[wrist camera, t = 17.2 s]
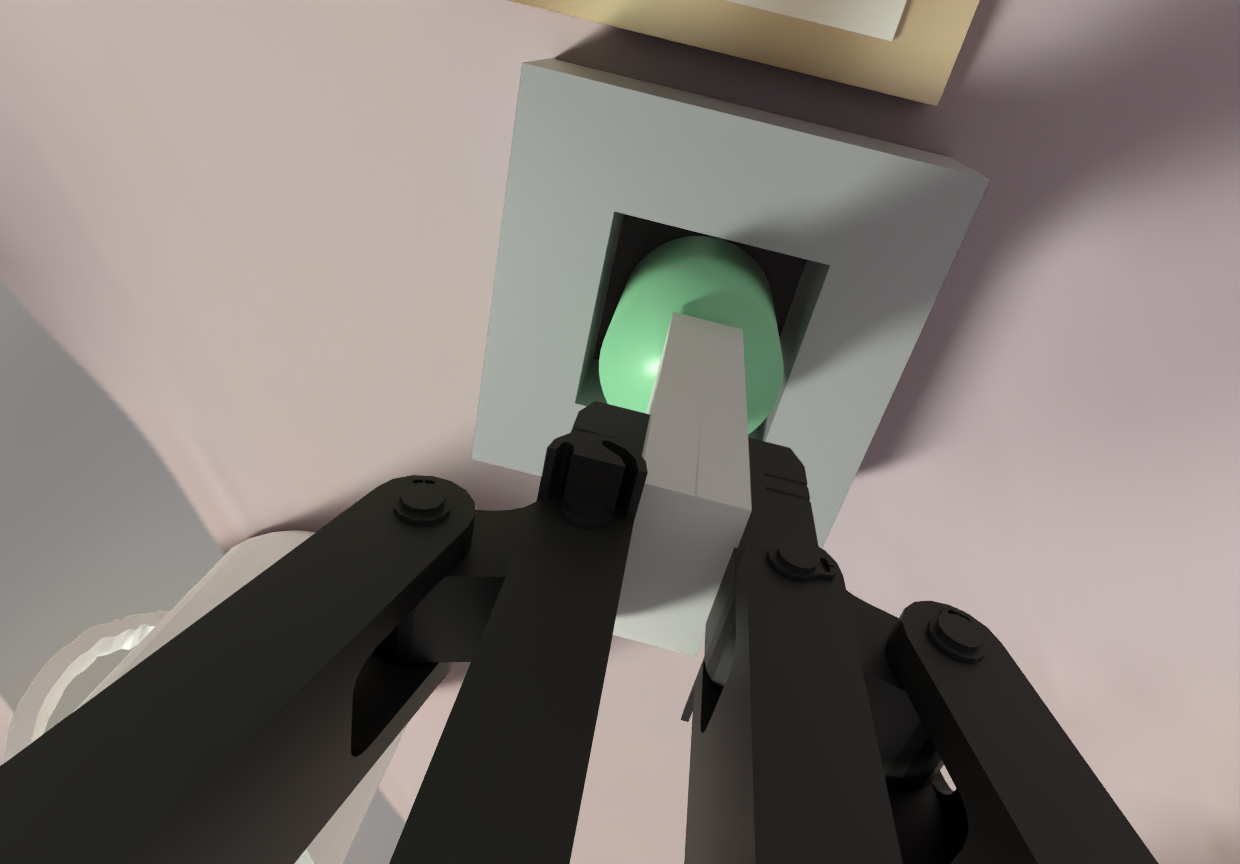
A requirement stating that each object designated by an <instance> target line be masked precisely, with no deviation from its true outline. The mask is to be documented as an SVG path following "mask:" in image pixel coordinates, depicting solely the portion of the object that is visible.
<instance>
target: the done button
mask: <svg viewBox="0 0 1240 864" xmlns="http://www.w3.org/2000/svg"><path fill="white" fill-rule="evenodd" d="M673 312H676V313H680V314H684V315H688V316H692V317H696V318H700V319H704V320H708V321H712V322H716V323H720V324H724V325H728V326H732V327H736V328H740V329H743V342H744V363H745V383H746V404H747V424H748V435H749V434H750V433H751V432H753V431H754V430H755V429H756V428H757V427H758V426H759V425H760V424H761V423H762V422H763V421H764V420H765V419H766V417H767V416H768V415H769V413H770V412H771V410H772V408H773V407H774V405H775V403H776V401H777V398H778V396H779V393H780V390H781V386H782V380H783V358H782V351H781V345H780V339H779V334H778V328H777V322H776V316H775V310H774V304H773V298H772V292H771V289H770V286H769V283H768V280H767V278H766V276H765V274H764V272H763V271H762V269H761V268H760V266H759V265H758V264H757V263H756V262H755V260H754V259H753V258H752V257H751V256H750V255H748V254H747V253H746V252H745V251H744V250H742V249H740V248H739V247H737V246H736V245H734V244H732V243H729V242H727V241H724V240H721V239H718V238H714V237H708V236H688V237H682V238H678V239H674V240H672V241H669V242H666V243H664V244H662V245H660V246H658V247H657V248H655V249H654V250H652V251H651V252H649V253H648V254H647V255H646V256H645V257H644V258H643V259H642V260H641V261H640V262H639V263H638V265H637V266H636V267H635V268H634V270H633V272H632V273H631V275H630V277H629V279H628V281H627V283H626V286H625V288H624V291H623V293H622V296H621V298H620V301H619V303H618V306H617V308H616V311H615V313H614V316H613V318H612V321H611V323H610V325H609V328H608V330H607V333H606V335H605V338H604V340H603V344H602V347H601V351H600V358H599V376H600V383H601V387H602V390H603V394H604V396H605V398H606V401H607V403H608V404H610V405H614V406H618V407H622V408H626V409H630V410H634V411H638V412H642V413H646V412H647V408H648V404H649V401H650V397H651V393H652V389H653V385H654V382H655V378H656V374H657V370H658V367H659V363H660V359H661V355H662V351H663V348H664V344H665V340H666V336H667V333H668V329H669V325H670V321H671V317H672V314H673Z"/></svg>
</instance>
